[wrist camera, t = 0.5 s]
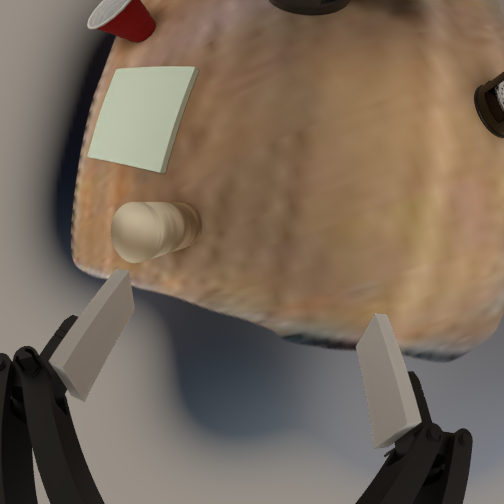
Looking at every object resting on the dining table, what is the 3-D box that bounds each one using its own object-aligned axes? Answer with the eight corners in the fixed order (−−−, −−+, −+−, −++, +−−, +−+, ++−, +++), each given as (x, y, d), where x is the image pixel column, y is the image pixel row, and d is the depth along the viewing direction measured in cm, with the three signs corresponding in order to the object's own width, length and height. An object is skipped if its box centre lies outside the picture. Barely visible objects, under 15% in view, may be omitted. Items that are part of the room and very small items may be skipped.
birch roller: (167, 197, 40) (116, 196, 29) (206, 209, 39) (162, 210, 28) (157, 240, 42) (107, 251, 30) (195, 254, 41) (150, 271, 29)
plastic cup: (159, 5, 35) (129, -24, 23) (173, 29, 35) (139, -4, 24) (118, 34, 38) (84, 12, 26) (127, 61, 38) (87, 38, 27)
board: (121, 71, 39) (116, 69, 38) (199, 70, 36) (195, 66, 34) (92, 157, 43) (87, 156, 42) (165, 173, 40) (160, 172, 38)
